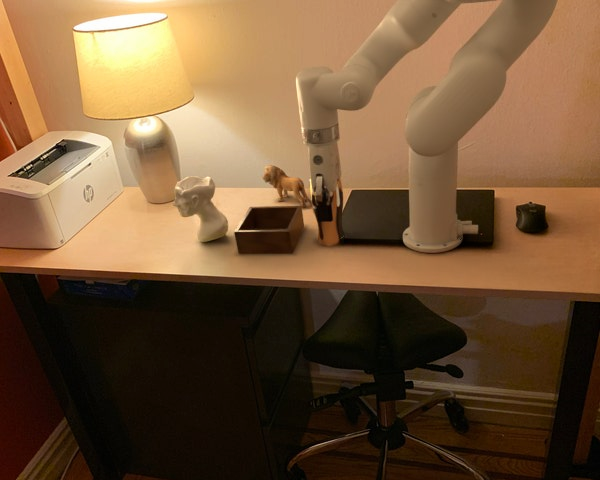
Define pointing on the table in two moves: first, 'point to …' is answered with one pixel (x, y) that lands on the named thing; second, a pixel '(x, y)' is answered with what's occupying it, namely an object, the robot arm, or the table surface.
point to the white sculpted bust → (201, 206)
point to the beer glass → (333, 230)
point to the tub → (269, 239)
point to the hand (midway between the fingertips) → (328, 212)
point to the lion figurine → (285, 183)
